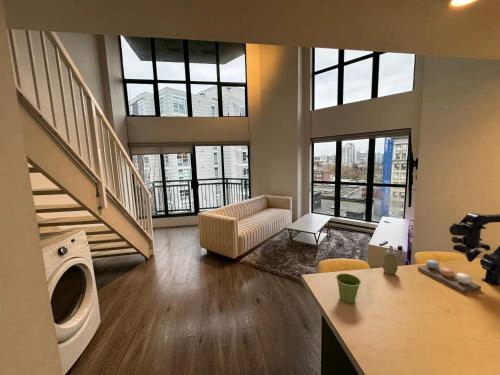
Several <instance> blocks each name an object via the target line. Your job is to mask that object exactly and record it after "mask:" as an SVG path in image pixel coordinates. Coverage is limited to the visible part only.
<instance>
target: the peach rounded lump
mask: <svg viewBox="0 0 500 375" xmlns="http://www.w3.org/2000/svg"><path fill="white" fill-rule="evenodd" d="M440 268H441V271H440V274H441V275H443V276H445V277H450V278H453V277H454V274H455V271H454V270H453V269H451V268H449V267H440Z"/></svg>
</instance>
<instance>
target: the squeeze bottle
mask: <svg viewBox="0 0 500 375" xmlns="http://www.w3.org/2000/svg"><path fill="white" fill-rule="evenodd" d="M385 251H386V252H385V253H384V255H383V261H382V269H383V272H384V273H385V274H387V275H389V276H395V275H396V273H397V272H398V270H399V269H398V257H397V255H396V251H395V250H394V248H393V245H389V248H388V249H387V250H385Z"/></svg>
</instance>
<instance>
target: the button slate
mask: <svg viewBox="0 0 500 375" xmlns="http://www.w3.org/2000/svg"><path fill="white" fill-rule="evenodd" d="M425 266H428V267H430V268H431V269H432V270H434V269H438V268H439V267H440V262H439V261H438V260H435V259H434V260H433V259H426V265H425Z"/></svg>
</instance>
